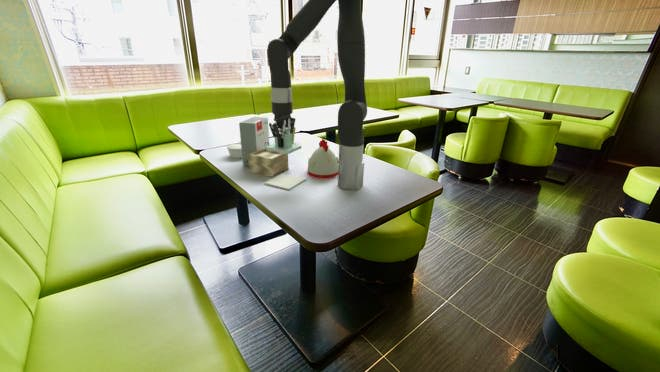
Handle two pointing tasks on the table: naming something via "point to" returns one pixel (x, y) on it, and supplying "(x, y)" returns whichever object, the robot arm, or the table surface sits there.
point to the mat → (285, 181)
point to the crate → (268, 162)
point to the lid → (287, 147)
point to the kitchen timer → (323, 162)
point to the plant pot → (292, 134)
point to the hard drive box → (253, 136)
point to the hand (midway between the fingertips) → (283, 146)
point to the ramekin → (235, 150)
